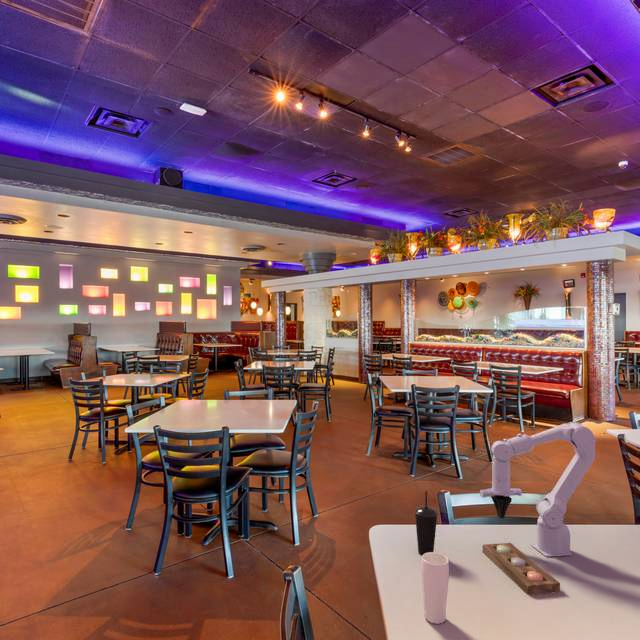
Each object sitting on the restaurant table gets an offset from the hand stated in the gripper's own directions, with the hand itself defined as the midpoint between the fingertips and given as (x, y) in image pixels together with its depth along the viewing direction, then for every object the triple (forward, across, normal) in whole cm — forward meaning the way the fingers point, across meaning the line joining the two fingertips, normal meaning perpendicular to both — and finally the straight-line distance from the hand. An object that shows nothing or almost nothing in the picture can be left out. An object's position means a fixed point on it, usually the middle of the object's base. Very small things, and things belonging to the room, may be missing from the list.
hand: (500, 517), depth 153 cm
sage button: (+9, -4, -8) cm, 13 cm away
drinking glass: (+10, -39, -34) cm, 53 cm away
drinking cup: (+10, -28, -2) cm, 30 cm away
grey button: (+9, -4, -16) cm, 19 cm away
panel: (+9, -4, -16) cm, 19 cm away
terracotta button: (+9, -4, -24) cm, 26 cm away
